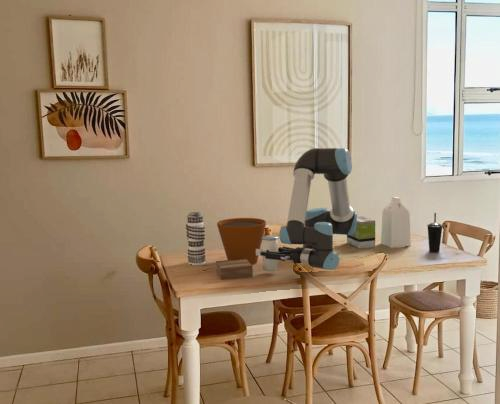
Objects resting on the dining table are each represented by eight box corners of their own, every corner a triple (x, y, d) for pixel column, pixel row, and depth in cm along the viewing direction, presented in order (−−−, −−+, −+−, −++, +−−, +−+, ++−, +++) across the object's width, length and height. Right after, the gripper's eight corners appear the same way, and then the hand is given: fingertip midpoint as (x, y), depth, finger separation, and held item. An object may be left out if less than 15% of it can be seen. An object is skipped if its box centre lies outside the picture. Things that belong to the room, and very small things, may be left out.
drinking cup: (445, 252, 284) (446, 213, 281) (433, 254, 281) (434, 214, 278) (435, 249, 291) (436, 211, 288) (423, 250, 288) (424, 212, 285)
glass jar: (261, 267, 255) (260, 235, 253) (276, 266, 256) (275, 234, 254) (264, 271, 248) (263, 239, 246) (280, 270, 249) (279, 237, 247)
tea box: (346, 243, 311) (346, 217, 309) (362, 241, 314) (362, 215, 312) (359, 248, 297) (359, 221, 295) (376, 247, 300) (376, 219, 298)
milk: (410, 246, 300) (411, 198, 296) (391, 247, 297) (391, 199, 293) (399, 241, 311) (400, 195, 308) (380, 243, 309) (381, 196, 305)
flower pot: (276, 261, 275) (276, 221, 272) (241, 271, 258) (240, 228, 256) (243, 254, 292) (242, 216, 289) (208, 262, 275) (207, 222, 272)
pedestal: (216, 271, 258) (216, 261, 258) (246, 269, 261) (246, 258, 261) (221, 279, 245) (221, 268, 244) (252, 277, 248) (252, 266, 247)
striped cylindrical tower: (185, 261, 278) (183, 212, 275) (203, 259, 281) (201, 210, 278) (190, 266, 270) (187, 214, 266) (208, 264, 273) (206, 213, 269)
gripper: (291, 270, 233) (248, 263, 247) (316, 260, 248) (274, 253, 262) (291, 253, 232) (247, 246, 246) (316, 243, 247) (274, 238, 261)
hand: (261, 250), depth 254 cm, fingers closed on glass jar, 7 cm apart
